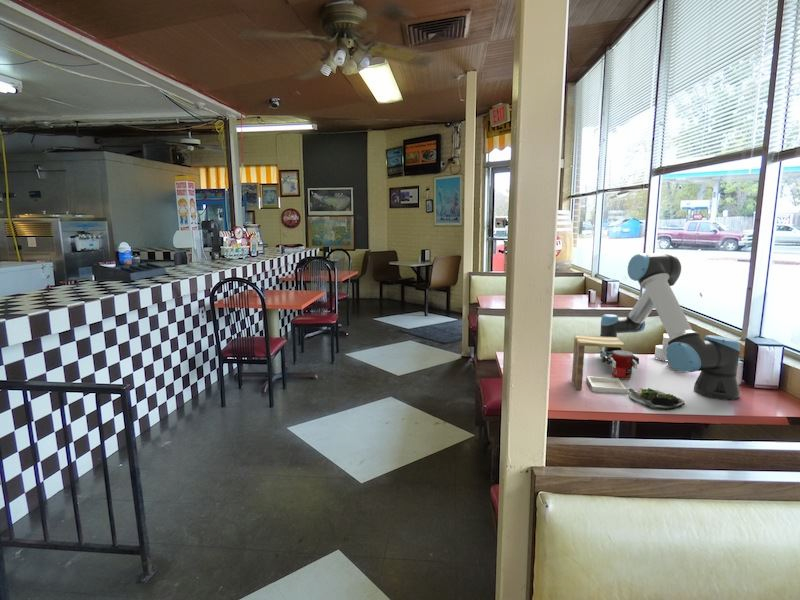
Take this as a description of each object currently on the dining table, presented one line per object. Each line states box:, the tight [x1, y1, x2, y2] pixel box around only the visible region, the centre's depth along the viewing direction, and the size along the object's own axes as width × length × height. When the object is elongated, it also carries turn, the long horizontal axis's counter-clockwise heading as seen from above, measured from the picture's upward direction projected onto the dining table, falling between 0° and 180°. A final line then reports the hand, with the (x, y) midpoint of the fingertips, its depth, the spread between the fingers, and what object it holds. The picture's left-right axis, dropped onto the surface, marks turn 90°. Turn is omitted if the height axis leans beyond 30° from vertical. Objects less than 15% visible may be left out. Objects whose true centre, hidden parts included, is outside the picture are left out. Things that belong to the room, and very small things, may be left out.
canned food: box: [611, 349, 634, 380], centre depth 200 cm, size 8×8×11 cm
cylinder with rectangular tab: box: [654, 333, 670, 361], centre depth 227 cm, size 9×9×12 cm
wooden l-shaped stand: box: [571, 334, 626, 391], centre depth 189 cm, size 12×17×20 cm
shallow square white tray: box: [585, 375, 628, 395], centre depth 190 cm, size 13×13×2 cm
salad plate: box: [627, 387, 685, 411], centre depth 176 cm, size 19×18×5 cm
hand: (625, 365), depth 195 cm, fingers closed on canned food, 8 cm apart
